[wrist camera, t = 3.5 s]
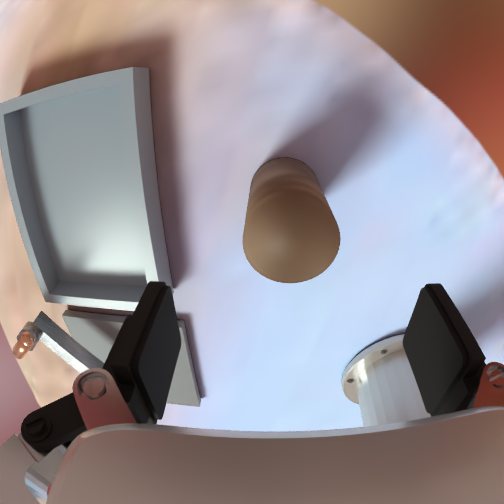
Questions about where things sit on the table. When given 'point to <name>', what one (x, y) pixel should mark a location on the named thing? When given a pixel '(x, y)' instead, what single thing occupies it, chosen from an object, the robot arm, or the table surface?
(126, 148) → the tray
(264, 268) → the block
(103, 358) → the crank base
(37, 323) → the crank
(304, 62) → the table surface
